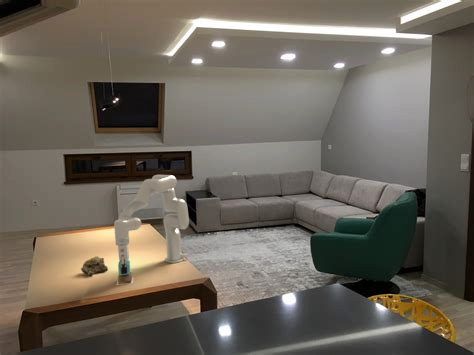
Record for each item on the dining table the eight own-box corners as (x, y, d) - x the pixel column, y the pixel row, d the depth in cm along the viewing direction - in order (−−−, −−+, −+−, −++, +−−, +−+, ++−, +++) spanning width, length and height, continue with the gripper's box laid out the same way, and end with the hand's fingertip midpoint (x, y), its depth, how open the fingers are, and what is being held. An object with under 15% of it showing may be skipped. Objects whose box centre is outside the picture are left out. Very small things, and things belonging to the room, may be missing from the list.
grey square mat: (139, 277, 236) (139, 275, 236) (139, 286, 223) (139, 284, 223) (112, 280, 233) (111, 278, 233) (109, 289, 220) (109, 287, 219)
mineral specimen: (85, 279, 237) (84, 263, 236) (79, 273, 247) (78, 258, 246) (109, 273, 245) (108, 258, 244) (102, 268, 256) (101, 253, 254)
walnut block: (131, 278, 232) (131, 271, 231) (131, 282, 225) (130, 276, 225) (119, 279, 231) (118, 273, 230) (118, 284, 224) (117, 277, 223)
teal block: (130, 270, 231) (129, 260, 230) (129, 274, 225) (129, 263, 224) (119, 271, 230) (118, 261, 229) (118, 275, 224) (118, 265, 223)
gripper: (128, 244, 217) (130, 276, 220) (129, 236, 234) (132, 266, 236) (114, 246, 216) (116, 277, 218) (116, 237, 233) (119, 267, 235)
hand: (124, 271), depth 227 cm, fingers closed on teal block, 5 cm apart
